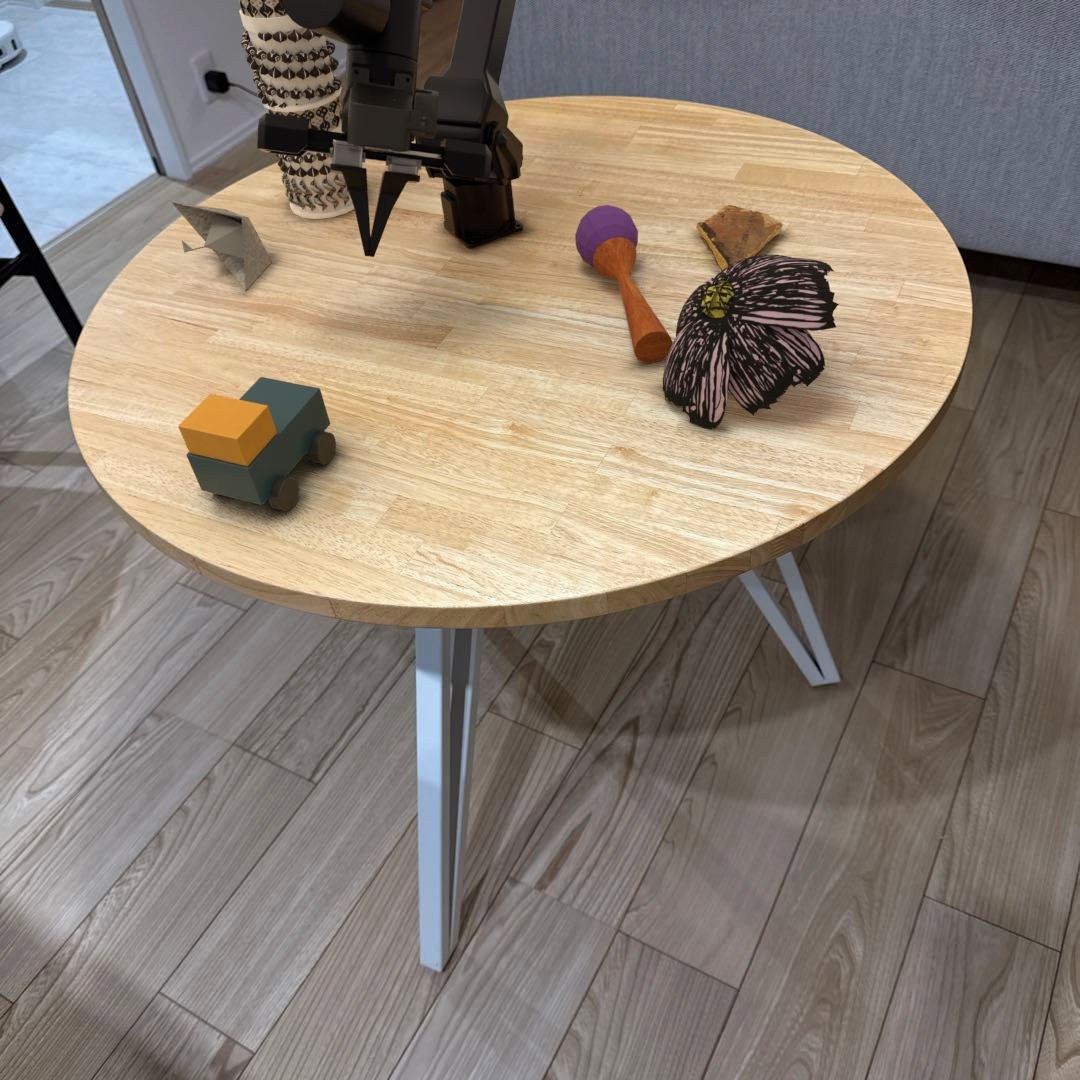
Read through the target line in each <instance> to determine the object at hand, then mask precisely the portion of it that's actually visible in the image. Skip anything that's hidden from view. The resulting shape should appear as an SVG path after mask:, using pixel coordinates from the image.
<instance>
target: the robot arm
mask: <svg viewBox="0 0 1080 1080" xmlns="http://www.w3.org/2000/svg"><path fill="white" fill-rule="evenodd" d="M281 1H282V5H283V7H284V9H285V11H286V13H287V15H288V16H289V17H290V18H291V19H292V21H294V22H295V23H296V24H298V25H299V26H301V27H304V28H306V29H309V30H311V31H314V32H316V33H319V34H321V35H324V36H325V38H330V39H332V40H334V41H337V42H338V43H339V42H340V43H342V44H345V45H346V59H345V78H344V94H343V95H344V96H343V99H342V128H341V131H342V133H339V132H332V131H324V130H317V129H311V122H310V120H309V119H305V118H298V117H291V116H284V115H277V114H270V113H269V112H267V113H266V112H265V113H264V114H263V115H262V116H261V117H260V118H259V119H258V123H257V140H256V141H257V146H256V148H257V150H259V151H261V152H262V153H267V154H274V155H276V154H281V155H288V156H296V157H301V156H302V155H304V154H305V153H306V152H307V151H311V152H318V153H326V154H330V158H332V164H330V171H331V172H333V173H340V174H342V175H343V177H344V180H345V183H346V186H347V188H348V191H349V194H350V197H351V200H352V203H353V206H354V209H353V210H354V213H355V219H356V222H357V223H356V224H357V227H358V232H359V236H360V240H361V246H362V251H363V254H364V257H370V258H374V257H375V256H376V253H377V250H378V247H379V245H380V243H381V239H382V237H383V234H384V232H385V229H386V227H387V225H388V221H389V218H390V216H391V215H392V214H391V213H392V211H393V209H394V207H395V206H396V203H397V201H398V200H399V198H400V196H401V194H402V192H403V191H404V189H405V187H406V185H407V183H409V184H418V183H420V181H421V175H419V171H421V170H422V167H423V168H425V171H426V173H427V176H428V178H429V179H435V178H438V179H441V180H442V186H443V191H441V192H440V194H439V195H440V201H441V208H442V212H443V220H444V221H442V224H443V227H444V228H445V229H446V230H447V231H448V232H449V233H450V234H451V235H452V236H453V237H454V238H456V239H457V240H458V241H459V242H461V243H462V244H463V245H464V246H465V247H466V248H467V249H471V250H472V249H475V248H479V247H482V246H484V245H487V244H489V243H492V242H495V241H498V240H500V239H503V238H506V237H509V236H512V235H514V234H517V233H520V232H522V231H523V230H524V224H523V223H521V222H520V221H519V220H518V219H516V212H515V211H516V210H515V202H514V193H513V184H512V181H514V180H518V179H520V178H521V176H522V171H521V168H522V167H523V160H524V144H523V143H522V141H521V140H520V139H519V138H518V137H517V136H516V135H515V134H514V132H512V131H511V130H510V129H509V127H508V126H509V125H508V124H509V118H510V117H509V113H508V110H507V107H506V104H505V101H504V98H503V95H502V92H501V89H500V80H501V75H502V69H503V66H504V65H503V64H504V59H505V55H506V51H507V45H508V42H509V41H508V40H509V35H510V31H511V27H512V22H513V17H514V12H515V6H516V3H517V0H462V5H461V6H462V7H461V10H460V14H459V15H460V16H459V19H458V25H457V29H456V35H455V40H454V44H453V50H452V54H451V59H450V64H449V66H448V68H447V69H446V71H445V72H444V73H443V74H442V75H441V76H440V75H439V76H438V75H429V76H428V78H427V79H426V81H425V82H424V85H423V88H420V87H419V88H418V87H417V80H418V79H417V76H418V65H419V64H418V63H419V49H420V38H421V37H420V35H421V25H422V11H423V10H432V8H433V7H434V6H433V5H434V3H433V0H281ZM366 160H370V161H371V160H372V161H378V162H385V167H387V170H384V171H383V173H382V176H381V181H380V186H379V191H378V197H377V201H376V206H375V211H374V218H373V222H372V227H371V223H370V222H371V221H370V207H369V190H368V189H369V187H368V171H367V170H368V169H367V167H363V163H364V164H365V163H366Z"/></svg>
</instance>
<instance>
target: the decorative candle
mask: <svg viewBox="0 0 1080 1080" xmlns="http://www.w3.org/2000/svg"><path fill="white" fill-rule="evenodd" d="M238 3H239V7H240V9H239V11H238V12H239V16H240V20H241V23H242V26H243V28H244V29H245V31H244V32H243V33H242V35H241V42H240V43H241V46H242V48H244V49H245V52H246V54H247V55H246V56H245V61H246V62H247V63H248V65H249V69H251V70H253V75H254V76H253V77H252V81H253V83H254V84H255V85H256V88H257V90H258V91H257V93H256V96H257V97H258V98H259V99H260V103H261V104H262V106H263V107H264V109H267V110H268V113H270V114H277V115H284V116H291V117H298V118H305V119H309V120H310V122H311V129H317V130H324V131H332V132H339V133H342V131H341V128H342V110H343V106H342V102H341V100H340V95H341V92H342V89H343V87H342V80H341V79H339V78H338V77H336V76H334V73H335V71H336V70H337V69H338V67H339V66H340V62H339V60H338V59H336V58H335V57H333V56H332V55H333V54H334V53H335V50H336V45H335V43H334V42H331V41H330V40H328V39H326V36H324V35H321V34H319V33H316V32H314V31H311V30H309V29H306V28H304V27H301V26H299V25H298V24H296V23H295V22H294V21H292V19H291V18H290V17H289V16H288V15H287V13H286V11H285V9H284V7H283V5H282V1H281V0H238ZM333 72H334V73H333ZM275 155H276V157H277V158H278V161H277V166H278V167H279V170H280V171H281V172H283V174H282V175H281V182H282V184H283V186H284V188H285V196H286V198H287V199H288V201H289V207H290V209H291V211H292V213H293V214H294V215H296V216H298V217H300V218H303V219H311V220H323V219H332V218H335V217H338V216H339V217H340V216H342V215H343V216H344V215H345V214H347V213H350V212H351V211H353V210H354V206H353V203H352V200H351V197H350V194H349V191H348V188H347V186H346V183H345V180H344V177H343V175H342V174H340V173H333V172H331V171H330V164H332V158H330V154H326V153H318V152H311V151H307V152H306V153H305V154H304V155H302V156H301V157H296V156H288V155H281V154H275Z"/></svg>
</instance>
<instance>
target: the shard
mask: <svg viewBox="0 0 1080 1080" xmlns="http://www.w3.org/2000/svg"><path fill="white" fill-rule="evenodd" d="M783 227H784V223H783V222H782V221H780V220H779V219H776V218H775V217H773V216H771V215H770V214H768V213H763V212H761V211H757V210H752V209H748V208H745V207H739V206H737V205H732V204H725V205H723V206H722V207H721V208H720V209H719V210H718V211H716V212H715V213H714V214H713V215H711V216H709V217H708V218H706V219H705V220H703V221H700V222H697V223H696V227H695V228H696V229H697V232H698V234H699V235H700V237H701V238H703V239H704V240H705V241H706V242H707V245H708V248H710V250H711V251H712V253H713V257H714V258H715V260H716V262H717V264H718V265H719V267H720V269H721V271H722V270H723V269H724V268H726V267H728V266H730V265H731V264H733V263H735V262H737V261H740V260H742V259H744V258H749V257H753V256H756V255H757V254H758V253H759V252H760V251H762V249H763V248H764V247H765V246H766V244H768V243H769V242H770V241H771V240H772V239H773V238H774V237H776V236H778V235H779V234H780V233H781V231H782V229H783Z"/></svg>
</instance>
